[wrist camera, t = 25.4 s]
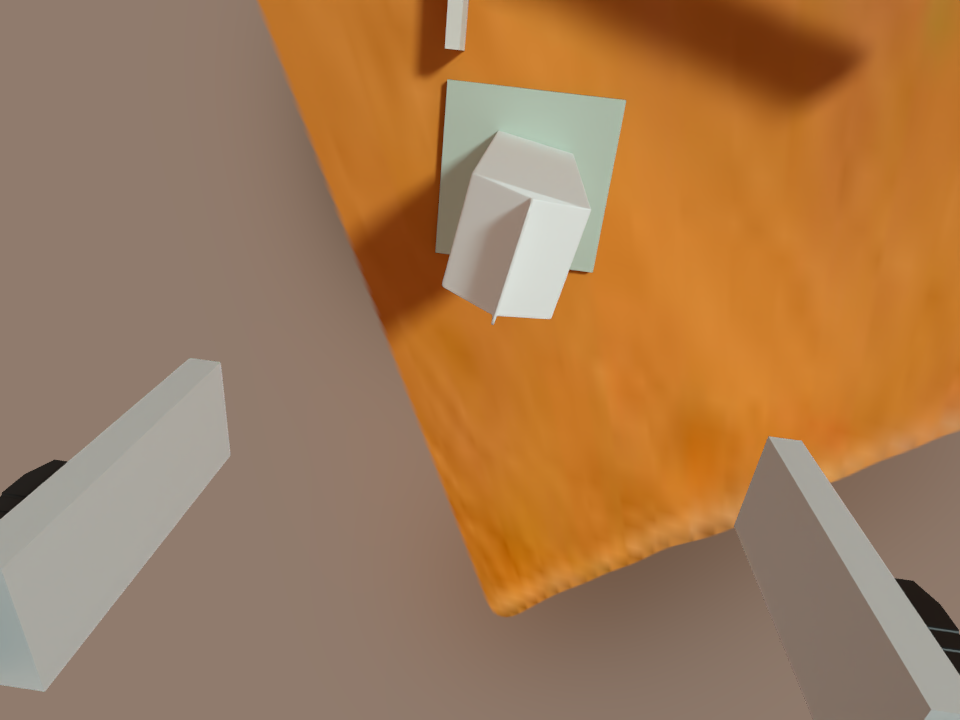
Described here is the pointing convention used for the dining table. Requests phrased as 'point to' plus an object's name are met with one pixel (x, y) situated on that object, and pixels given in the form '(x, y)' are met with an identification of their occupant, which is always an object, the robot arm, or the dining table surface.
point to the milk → (518, 229)
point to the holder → (456, 24)
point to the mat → (538, 118)
